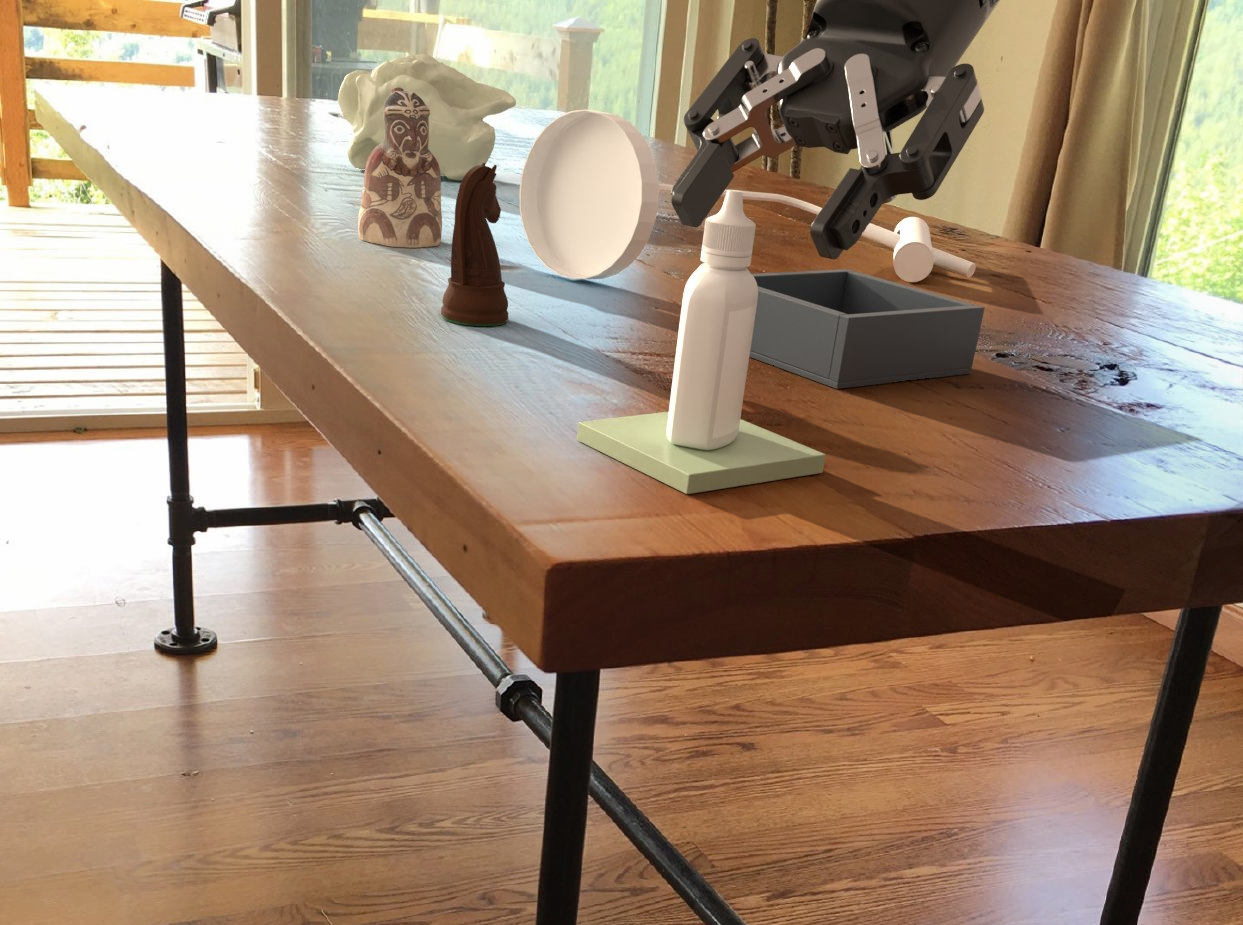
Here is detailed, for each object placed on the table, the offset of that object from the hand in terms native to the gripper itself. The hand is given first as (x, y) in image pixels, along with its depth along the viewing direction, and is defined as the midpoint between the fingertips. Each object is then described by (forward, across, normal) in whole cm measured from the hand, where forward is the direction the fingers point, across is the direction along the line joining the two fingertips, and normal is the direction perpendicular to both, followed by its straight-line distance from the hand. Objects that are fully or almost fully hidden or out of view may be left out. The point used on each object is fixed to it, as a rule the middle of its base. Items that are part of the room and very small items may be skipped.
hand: (749, 230), depth 69 cm
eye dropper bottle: (+8, 0, +6) cm, 10 cm away
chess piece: (+2, -29, +14) cm, 32 cm away
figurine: (-9, -54, +25) cm, 60 cm away
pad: (+9, 0, +7) cm, 11 cm away
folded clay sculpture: (-30, -87, +46) cm, 103 cm away
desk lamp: (-26, -32, +42) cm, 59 cm away
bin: (-10, -10, +25) cm, 29 cm away
